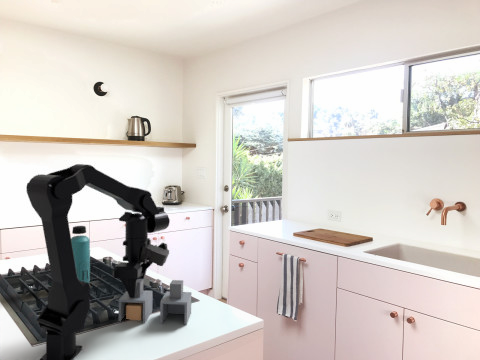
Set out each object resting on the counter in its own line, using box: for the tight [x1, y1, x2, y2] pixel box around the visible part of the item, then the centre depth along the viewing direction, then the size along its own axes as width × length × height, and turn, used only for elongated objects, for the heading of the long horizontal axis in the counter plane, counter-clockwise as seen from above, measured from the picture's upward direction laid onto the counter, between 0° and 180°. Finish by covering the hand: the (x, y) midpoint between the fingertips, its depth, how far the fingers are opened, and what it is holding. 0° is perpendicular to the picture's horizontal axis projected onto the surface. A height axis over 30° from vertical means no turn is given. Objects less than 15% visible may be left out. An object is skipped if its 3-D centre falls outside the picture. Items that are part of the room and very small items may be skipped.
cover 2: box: [159, 279, 192, 326], centre depth 98 cm, size 7×7×10 cm
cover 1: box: [118, 279, 153, 324], centre depth 98 cm, size 7×7×10 cm
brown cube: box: [125, 302, 143, 321], centre depth 99 cm, size 4×4×4 cm
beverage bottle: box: [71, 225, 91, 283], centre depth 119 cm, size 6×7×20 cm
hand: (136, 293), depth 98 cm, fingers open, 6 cm apart
